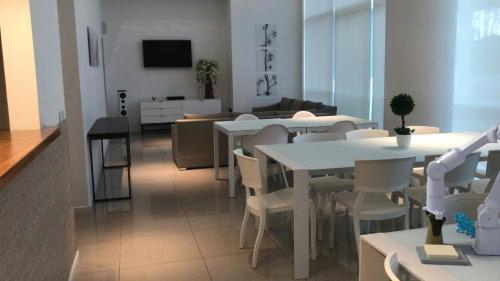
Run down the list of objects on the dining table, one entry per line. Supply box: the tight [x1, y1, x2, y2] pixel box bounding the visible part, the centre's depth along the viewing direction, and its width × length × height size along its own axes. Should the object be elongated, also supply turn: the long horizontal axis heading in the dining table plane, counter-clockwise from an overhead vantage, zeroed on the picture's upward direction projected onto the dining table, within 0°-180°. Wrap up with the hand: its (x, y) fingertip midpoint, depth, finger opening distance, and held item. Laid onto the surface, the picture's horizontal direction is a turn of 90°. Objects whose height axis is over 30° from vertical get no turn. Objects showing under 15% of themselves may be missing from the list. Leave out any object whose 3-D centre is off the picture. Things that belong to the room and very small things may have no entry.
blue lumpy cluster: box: [454, 211, 477, 237], centre depth 179 cm, size 11×6×10 cm
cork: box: [424, 213, 445, 245], centre depth 167 cm, size 6×6×11 cm
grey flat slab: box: [415, 243, 469, 266], centre depth 157 cm, size 14×12×2 cm
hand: (434, 233), depth 167 cm, fingers closed on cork, 5 cm apart
